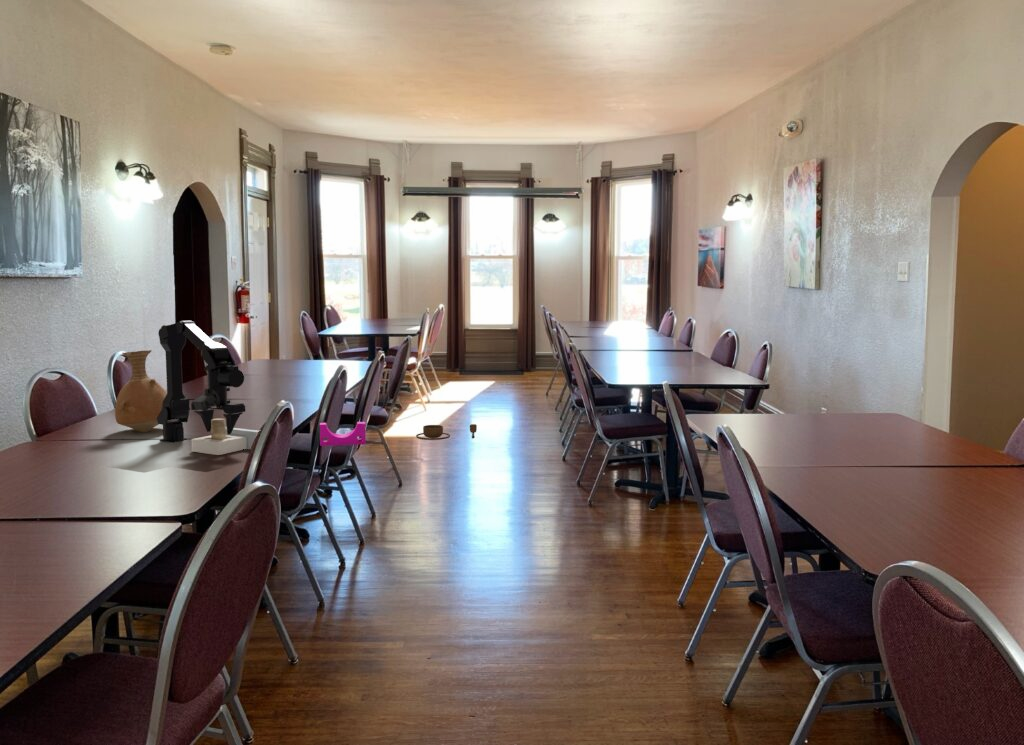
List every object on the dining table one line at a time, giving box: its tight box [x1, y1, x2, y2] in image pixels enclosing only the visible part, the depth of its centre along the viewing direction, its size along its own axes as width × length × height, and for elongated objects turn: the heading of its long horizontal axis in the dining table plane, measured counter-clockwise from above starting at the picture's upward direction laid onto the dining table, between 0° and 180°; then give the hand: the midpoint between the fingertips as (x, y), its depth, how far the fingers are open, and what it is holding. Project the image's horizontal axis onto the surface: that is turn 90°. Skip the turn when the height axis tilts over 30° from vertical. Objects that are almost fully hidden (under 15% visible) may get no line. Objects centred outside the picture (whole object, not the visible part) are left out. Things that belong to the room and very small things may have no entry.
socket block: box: [190, 434, 248, 456], centre depth 282 cm, size 12×12×4 cm
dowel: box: [210, 418, 227, 440], centre depth 282 cm, size 4×4×9 cm
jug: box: [114, 349, 167, 433], centre depth 312 cm, size 20×19×30 cm
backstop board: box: [226, 426, 260, 450], centre depth 289 cm, size 20×2×6 cm, turn 62°
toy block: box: [319, 421, 367, 447], centre depth 295 cm, size 15×6×8 cm, turn 100°
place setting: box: [415, 423, 478, 441], centre depth 304 cm, size 18×20×6 cm
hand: (218, 432), depth 282 cm, fingers open, 9 cm apart
